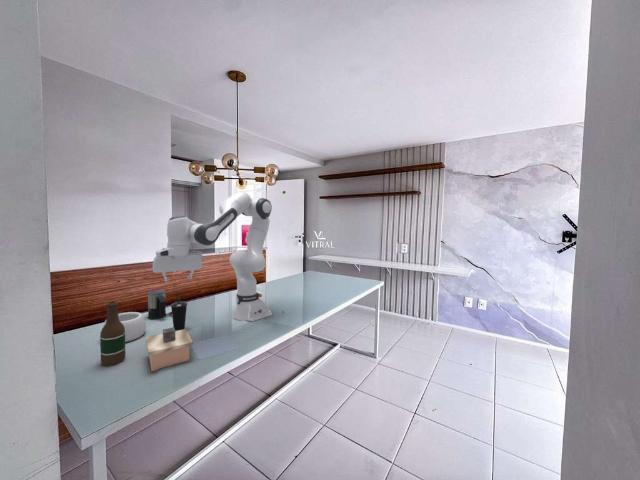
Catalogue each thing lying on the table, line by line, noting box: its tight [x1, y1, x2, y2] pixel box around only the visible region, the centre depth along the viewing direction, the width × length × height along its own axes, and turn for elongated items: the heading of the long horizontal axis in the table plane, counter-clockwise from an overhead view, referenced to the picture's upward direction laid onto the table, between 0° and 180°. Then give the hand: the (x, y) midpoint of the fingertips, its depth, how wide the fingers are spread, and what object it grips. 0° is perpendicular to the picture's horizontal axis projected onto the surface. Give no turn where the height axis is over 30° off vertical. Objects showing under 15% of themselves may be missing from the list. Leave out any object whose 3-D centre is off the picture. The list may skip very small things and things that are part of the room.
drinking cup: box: [170, 291, 188, 331], centre depth 131 cm, size 8×8×20 cm
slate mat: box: [191, 334, 240, 361], centre depth 116 cm, size 17×17×1 cm
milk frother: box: [146, 289, 172, 320], centre depth 150 cm, size 14×16×15 cm
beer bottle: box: [99, 301, 126, 367], centre depth 101 cm, size 8×8×24 cm
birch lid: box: [145, 327, 194, 357], centre depth 104 cm, size 15×15×5 cm
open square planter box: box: [148, 346, 190, 373], centre depth 105 cm, size 13×13×7 cm
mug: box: [102, 311, 147, 343], centre depth 120 cm, size 21×17×10 cm
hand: (178, 280), depth 119 cm, fingers open, 8 cm apart
